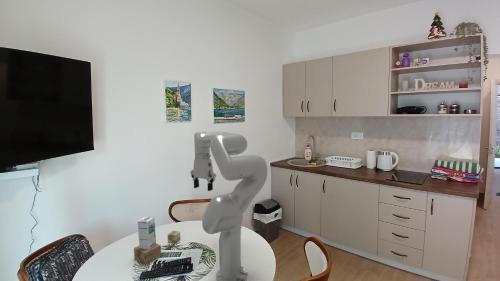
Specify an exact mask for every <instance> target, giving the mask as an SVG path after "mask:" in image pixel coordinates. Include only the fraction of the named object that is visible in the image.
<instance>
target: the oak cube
mask: <svg viewBox="0 0 500 281" xmlns="http://www.w3.org/2000/svg"><path fill="white" fill-rule="evenodd" d="M180 241H181V231H178V230H177V231H176V230H171V231H170V232H169V233H168V234H167V244H173V245H177V243H178V242H180Z"/></svg>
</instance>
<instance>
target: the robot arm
mask: <svg viewBox="0 0 500 281" xmlns="http://www.w3.org/2000/svg"><path fill="white" fill-rule="evenodd" d="M193 140H194V161H193V169H192V170H190V171H189V173H190V176H191V179H192V181H193V188H194V189H197V188H200V179H202V180H206V181H207V192H210V191H213V188H214V186H213V183H214V181H216V177H217V174H216V173H215V172H214V169H213V163H212V162H213V160H212V159H211V156H212V158H213V159H214V161H215V163H216V166H217V168H218V170H219V171H220V172H219V173H220V175H221V176H222V177H223V179H225V180H226V181H230V182H232V181H237V180H238V181H239V180H241V181H239V182H238V183H237V184H236V185H235V188H233V191H231V192H229V193H226V194H221V195H216V196H214V197H212V199H210V200H209V202H208V204H207V207H206V209H205V211H204V213H203V215H202V221H201V223H202V224H201V225H202V229H203V231H204V232H205V233H206V234H208V235H214V234H218V233H219V236H218V237H219V238H218V256H219V257H218V258H219V260H218V261H219V262H218V263H219V266H218V267H219V269H217V272H216V273H215V278H216V280H217V281H247V280H248V274H249V273H248V272H246V271H245V270H244V266H243V265H242V255H241V254H242V248H241V246H242V244H241V243H242V242H241V240H242V238H241V237H242V226H243V220H244V219H243V218H244V216H243V215H244V214H245V213H246V212H247V210H248V209H249V207H250V206H251V204H252V202H253V201H254V199H255V198H256V197H257V195H258V194H259V193H260V191H261V190H262V188H263V187H264V186H265V184H266V182H267V177H268V163H267V161H266V159H264V157H263V156H260V155H255V154H248V155H240V154H243V153H244V152H245V151H246V150H247V149H248V148H247V147H248V140H247V139H246V137H245V136H244V135H243V134H239V133H232V132H231V133H230V132H227V131H209V132H207V131H197V132H194V137H193ZM210 151H211V152H210ZM210 153H211V154H212V155H211V154H210ZM236 155H237V156H236ZM238 155H239V156H238Z"/></svg>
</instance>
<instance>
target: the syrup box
mask: <svg viewBox="0 0 500 281" xmlns="http://www.w3.org/2000/svg"><path fill="white" fill-rule="evenodd" d="M137 231H138V232H137V233H138V244H139V245H138V246H139V248H140V249H147V250H150V249H151V248H152V247H153V246H154V245H156V244H157V238H156V222H155V217H154V216H149V215H148V216H144V217H142V218H141V219H138V220H137Z"/></svg>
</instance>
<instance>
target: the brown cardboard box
mask: <svg viewBox="0 0 500 281" xmlns="http://www.w3.org/2000/svg"><path fill="white" fill-rule="evenodd" d="M133 256H134V257H133V258H134V261H137V262H138V263H141V264H143V266H146V265H149V264H150V263H152V262H154V261H156V260H158V259H160V258H162V245H161V244H159V243H156V245H154V246H153V247H152V248H151V249H150V250H147V249H140V248H139V245H137V246H135V247H133Z"/></svg>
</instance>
